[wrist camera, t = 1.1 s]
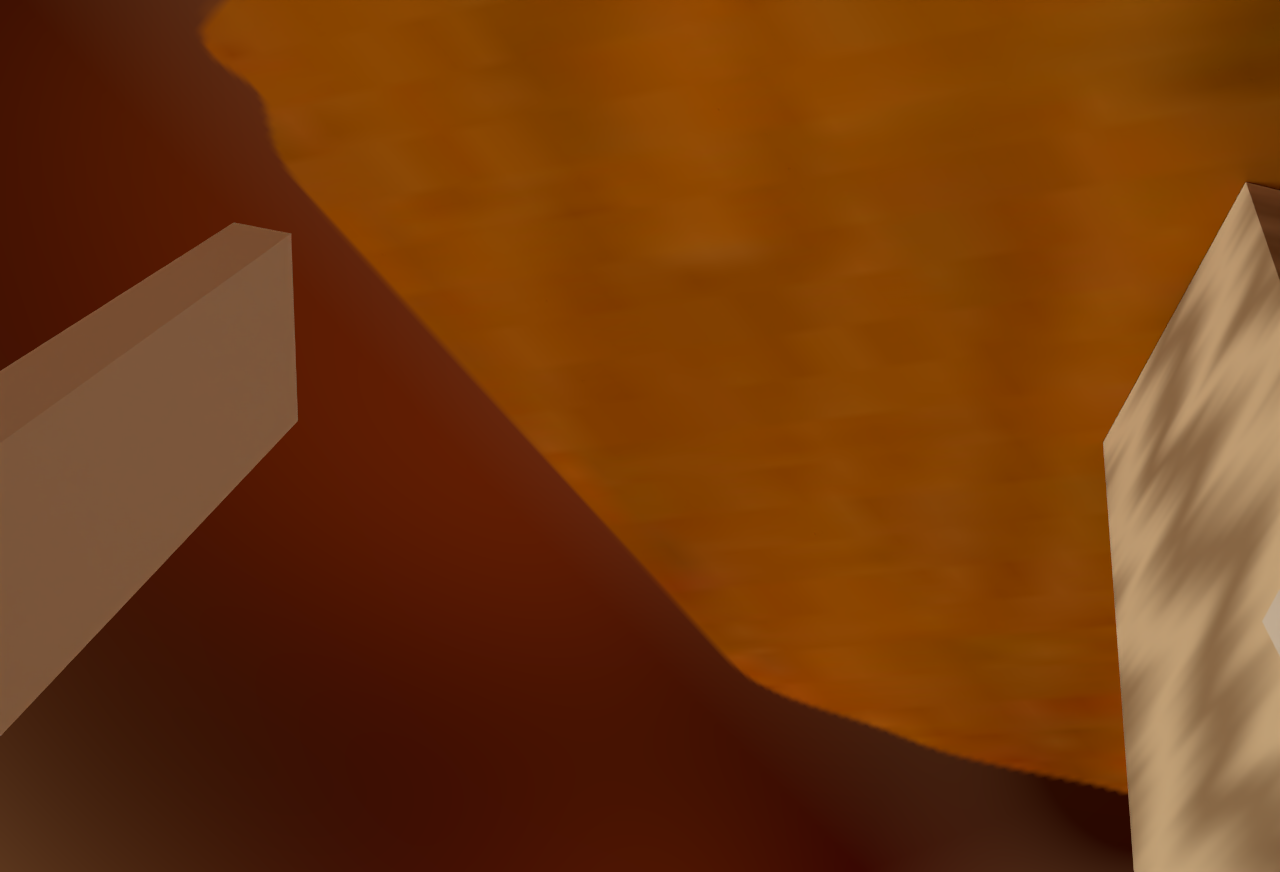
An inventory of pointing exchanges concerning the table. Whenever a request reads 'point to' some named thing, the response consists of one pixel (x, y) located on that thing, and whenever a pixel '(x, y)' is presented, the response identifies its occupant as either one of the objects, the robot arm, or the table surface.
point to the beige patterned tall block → (1204, 562)
